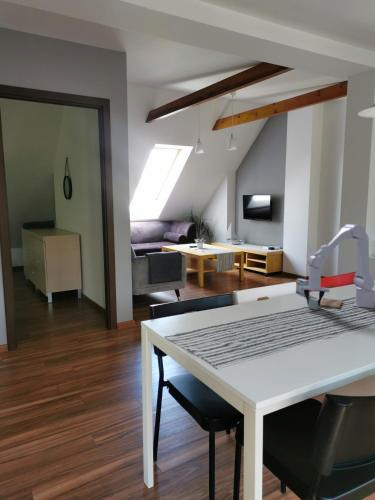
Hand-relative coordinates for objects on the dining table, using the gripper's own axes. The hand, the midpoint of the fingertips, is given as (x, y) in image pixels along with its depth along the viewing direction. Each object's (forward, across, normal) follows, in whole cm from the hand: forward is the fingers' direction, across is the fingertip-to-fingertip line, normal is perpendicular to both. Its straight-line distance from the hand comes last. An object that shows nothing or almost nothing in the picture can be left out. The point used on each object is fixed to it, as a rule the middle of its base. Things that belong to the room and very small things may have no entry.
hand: (313, 304), depth 195 cm
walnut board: (+2, -8, -10) cm, 13 cm away
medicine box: (+2, +8, -27) cm, 28 cm away
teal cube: (+2, 0, 0) cm, 2 cm away
